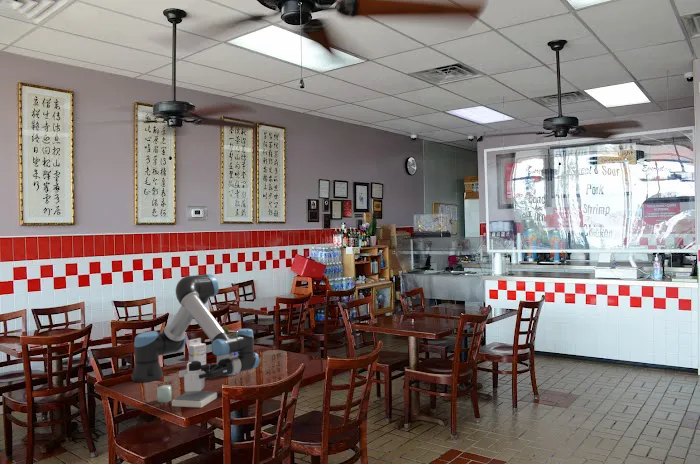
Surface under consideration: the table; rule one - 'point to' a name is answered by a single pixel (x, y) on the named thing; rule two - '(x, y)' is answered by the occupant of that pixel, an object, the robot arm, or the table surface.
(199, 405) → the podium
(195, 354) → the ink cartridge box
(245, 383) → the table surface
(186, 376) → the medicine bottle
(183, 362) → the table surface
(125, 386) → the table surface
